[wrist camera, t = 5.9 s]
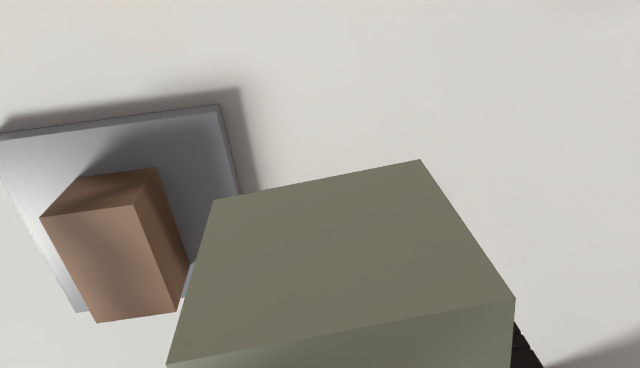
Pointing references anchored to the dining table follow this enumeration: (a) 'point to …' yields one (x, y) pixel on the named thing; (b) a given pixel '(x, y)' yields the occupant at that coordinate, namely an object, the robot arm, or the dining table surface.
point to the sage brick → (343, 280)
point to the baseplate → (117, 156)
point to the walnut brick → (119, 244)
